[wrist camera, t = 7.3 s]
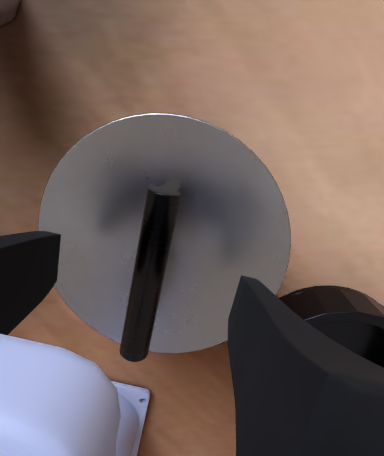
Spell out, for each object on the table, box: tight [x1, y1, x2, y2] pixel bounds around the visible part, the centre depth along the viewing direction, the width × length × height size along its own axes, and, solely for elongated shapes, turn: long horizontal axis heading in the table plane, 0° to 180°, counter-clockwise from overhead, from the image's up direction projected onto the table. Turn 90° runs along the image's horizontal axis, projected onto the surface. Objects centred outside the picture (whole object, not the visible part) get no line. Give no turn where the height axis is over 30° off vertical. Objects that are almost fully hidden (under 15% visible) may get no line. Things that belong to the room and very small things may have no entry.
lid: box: [38, 113, 291, 362], centre depth 13 cm, size 12×12×5 cm
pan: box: [279, 286, 384, 368], centre depth 21 cm, size 11×11×3 cm
